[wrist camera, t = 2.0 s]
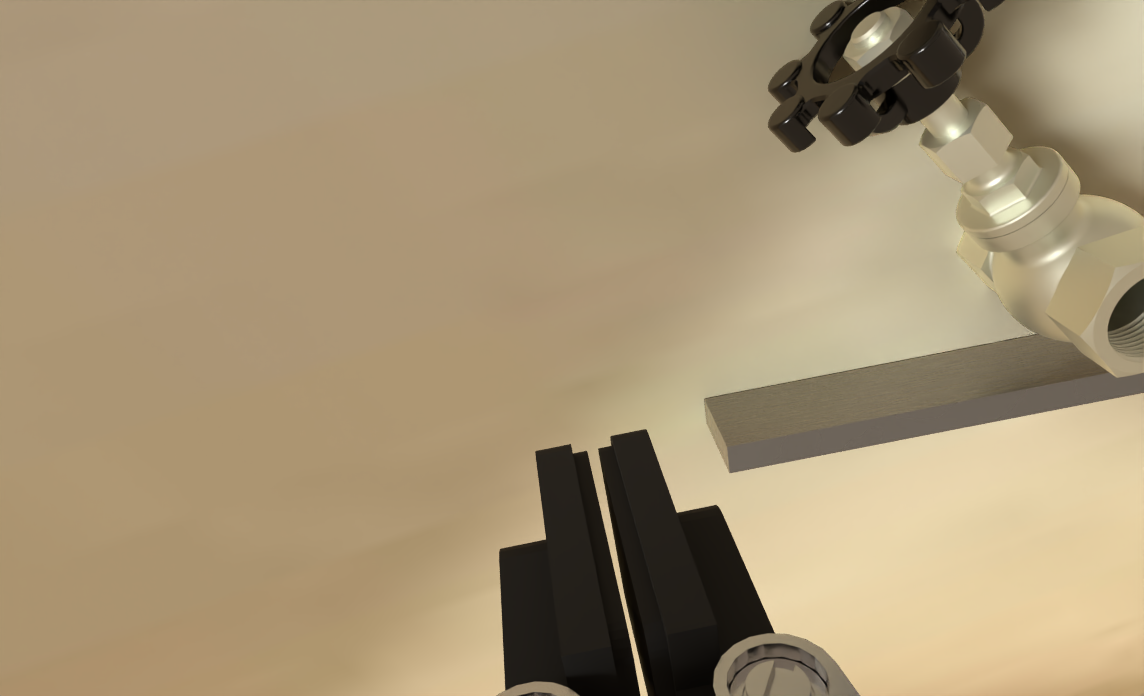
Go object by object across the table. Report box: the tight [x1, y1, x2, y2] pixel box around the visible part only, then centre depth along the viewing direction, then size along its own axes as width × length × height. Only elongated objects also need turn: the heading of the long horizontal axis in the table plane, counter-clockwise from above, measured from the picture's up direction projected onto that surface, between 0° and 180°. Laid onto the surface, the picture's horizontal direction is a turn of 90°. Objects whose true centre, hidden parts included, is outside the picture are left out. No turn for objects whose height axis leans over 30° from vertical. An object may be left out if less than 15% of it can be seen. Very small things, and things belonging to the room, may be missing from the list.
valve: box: [768, 0, 1144, 378], centre depth 23 cm, size 7×7×12 cm
